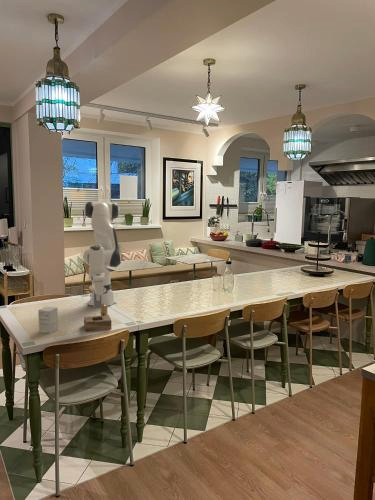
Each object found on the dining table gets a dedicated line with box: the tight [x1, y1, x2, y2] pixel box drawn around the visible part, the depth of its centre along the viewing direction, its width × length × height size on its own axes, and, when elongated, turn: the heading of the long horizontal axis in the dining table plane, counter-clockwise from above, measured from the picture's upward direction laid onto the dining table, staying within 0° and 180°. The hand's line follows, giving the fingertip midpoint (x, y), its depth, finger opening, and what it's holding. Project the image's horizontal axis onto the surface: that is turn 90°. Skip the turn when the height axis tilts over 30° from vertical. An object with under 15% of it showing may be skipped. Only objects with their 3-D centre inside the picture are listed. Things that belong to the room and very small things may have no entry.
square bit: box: [92, 288, 101, 309], centre depth 212 cm, size 4×4×10 cm
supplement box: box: [37, 305, 59, 334], centre depth 207 cm, size 7×7×13 cm
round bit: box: [100, 304, 108, 316], centre depth 225 cm, size 4×4×10 cm
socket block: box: [83, 314, 112, 332], centre depth 214 cm, size 10×14×5 cm
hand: (97, 299), depth 213 cm, fingers closed on square bit, 4 cm apart
